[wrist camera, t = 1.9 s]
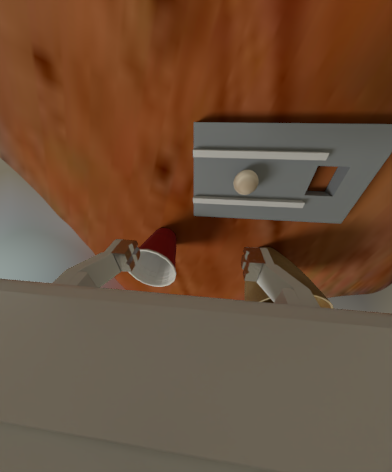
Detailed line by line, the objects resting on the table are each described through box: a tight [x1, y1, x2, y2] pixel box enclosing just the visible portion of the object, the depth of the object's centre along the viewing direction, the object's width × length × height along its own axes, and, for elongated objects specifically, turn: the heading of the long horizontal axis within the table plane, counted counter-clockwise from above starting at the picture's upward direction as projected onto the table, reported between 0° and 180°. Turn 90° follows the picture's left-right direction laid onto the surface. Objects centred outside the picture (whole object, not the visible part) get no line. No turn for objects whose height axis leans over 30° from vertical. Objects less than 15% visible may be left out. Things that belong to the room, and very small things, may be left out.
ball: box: [233, 170, 259, 195], centre depth 25 cm, size 4×4×4 cm
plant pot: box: [245, 247, 333, 309], centre depth 34 cm, size 15×15×16 cm
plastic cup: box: [129, 228, 176, 287], centre depth 34 cm, size 11×11×12 cm
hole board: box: [193, 122, 392, 224], centre depth 26 cm, size 16×30×4 cm, turn 90°
